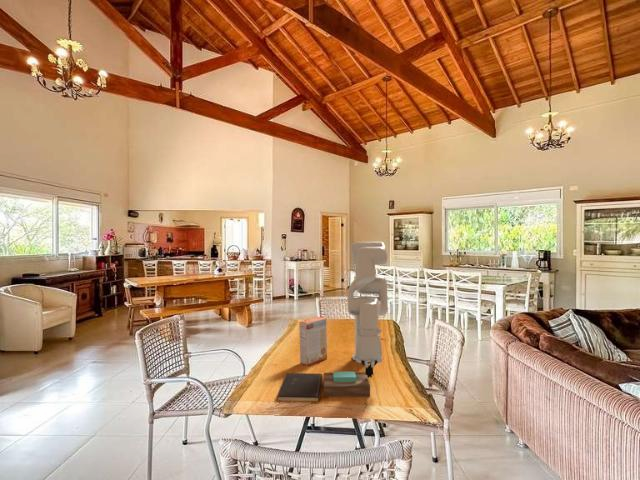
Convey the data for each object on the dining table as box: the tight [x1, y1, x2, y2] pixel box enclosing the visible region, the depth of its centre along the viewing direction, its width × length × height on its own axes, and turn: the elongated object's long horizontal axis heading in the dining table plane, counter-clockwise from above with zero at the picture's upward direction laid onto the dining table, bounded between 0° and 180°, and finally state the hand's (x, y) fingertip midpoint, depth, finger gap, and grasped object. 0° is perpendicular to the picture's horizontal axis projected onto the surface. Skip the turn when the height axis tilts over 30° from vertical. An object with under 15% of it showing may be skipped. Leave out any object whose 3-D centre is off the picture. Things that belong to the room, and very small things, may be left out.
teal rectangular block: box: [332, 370, 356, 382], centre depth 145 cm, size 6×9×2 cm, turn 90°
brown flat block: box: [323, 371, 371, 398], centre depth 145 cm, size 14×18×4 cm
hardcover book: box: [276, 372, 323, 402], centre depth 146 cm, size 16×23×2 cm
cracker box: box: [298, 316, 328, 366], centre depth 178 cm, size 14×6×21 cm, turn 135°
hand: (369, 376), depth 144 cm, fingers closed
